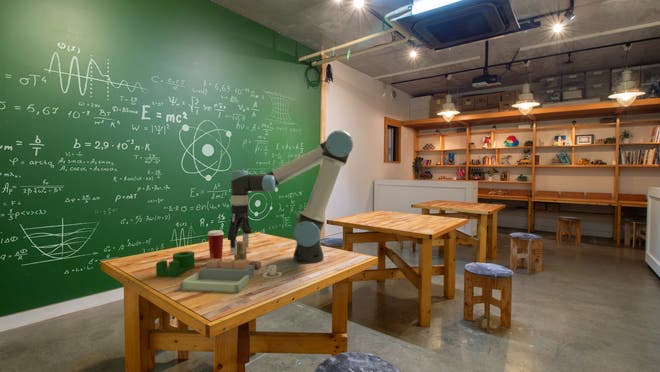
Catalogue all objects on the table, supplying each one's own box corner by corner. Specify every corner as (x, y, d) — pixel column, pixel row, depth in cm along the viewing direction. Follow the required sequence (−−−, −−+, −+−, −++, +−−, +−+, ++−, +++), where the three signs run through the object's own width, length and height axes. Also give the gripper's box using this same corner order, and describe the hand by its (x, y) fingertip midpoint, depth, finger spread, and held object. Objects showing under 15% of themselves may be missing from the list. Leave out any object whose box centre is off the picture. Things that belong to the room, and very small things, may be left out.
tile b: (235, 265, 136) (235, 259, 136) (230, 268, 132) (230, 262, 132) (225, 264, 137) (225, 258, 137) (220, 267, 132) (220, 261, 132)
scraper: (261, 267, 148) (260, 242, 147) (257, 270, 144) (257, 244, 143) (224, 266, 151) (223, 240, 150) (220, 268, 147) (219, 242, 146)
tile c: (221, 264, 137) (221, 258, 137) (216, 267, 132) (216, 261, 132) (211, 264, 138) (211, 258, 137) (206, 267, 133) (206, 261, 133)
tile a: (248, 265, 135) (248, 259, 135) (244, 268, 131) (244, 262, 131) (238, 265, 136) (238, 259, 136) (234, 268, 132) (234, 262, 131)
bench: (254, 275, 137) (254, 264, 137) (246, 282, 128) (246, 271, 128) (210, 273, 140) (210, 262, 140) (199, 280, 131) (198, 269, 131)
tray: (249, 282, 128) (249, 275, 128) (237, 293, 117) (237, 284, 117) (196, 280, 131) (196, 272, 131) (180, 290, 120) (180, 282, 120)
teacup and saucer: (267, 271, 143) (267, 262, 143) (284, 272, 142) (284, 263, 142) (259, 278, 135) (259, 268, 134) (278, 279, 133) (278, 269, 133)
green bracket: (180, 264, 153) (179, 251, 153) (198, 265, 152) (198, 251, 152) (156, 277, 135) (156, 262, 135) (176, 277, 134) (176, 262, 134)
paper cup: (226, 257, 165) (226, 230, 164) (220, 261, 157) (219, 233, 157) (212, 256, 166) (211, 229, 165) (204, 261, 158) (204, 232, 157)
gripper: (242, 201, 159) (243, 244, 160) (218, 207, 134) (219, 257, 135) (257, 201, 158) (257, 244, 159) (236, 207, 133) (236, 258, 134)
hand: (240, 250), depth 147 cm, fingers open, 13 cm apart
